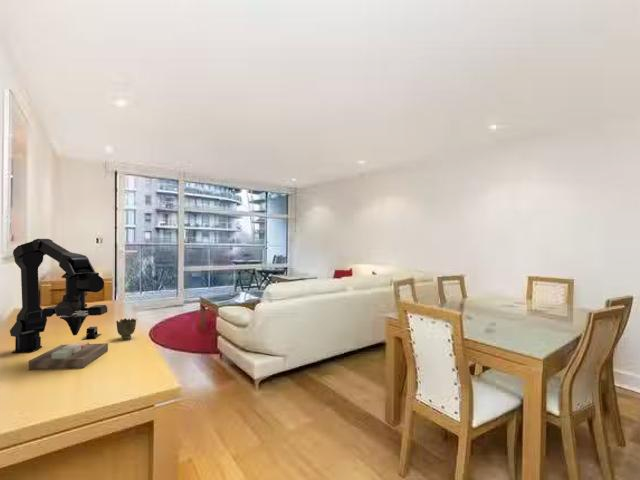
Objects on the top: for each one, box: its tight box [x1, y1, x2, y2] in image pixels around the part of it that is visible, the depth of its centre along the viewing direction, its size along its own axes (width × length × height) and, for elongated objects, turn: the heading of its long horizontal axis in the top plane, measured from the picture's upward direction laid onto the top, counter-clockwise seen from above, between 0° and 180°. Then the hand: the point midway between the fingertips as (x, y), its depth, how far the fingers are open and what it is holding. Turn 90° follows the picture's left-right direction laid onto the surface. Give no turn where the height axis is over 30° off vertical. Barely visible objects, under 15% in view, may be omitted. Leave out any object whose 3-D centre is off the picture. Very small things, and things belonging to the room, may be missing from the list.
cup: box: [115, 318, 137, 341], centre depth 143 cm, size 8×7×8 cm
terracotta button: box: [75, 341, 90, 348], centre depth 123 cm, size 4×4×3 cm
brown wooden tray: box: [28, 342, 109, 371], centre depth 117 cm, size 16×17×3 cm
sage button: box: [51, 349, 72, 359], centre depth 112 cm, size 4×4×3 cm
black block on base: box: [81, 325, 102, 341], centre depth 146 cm, size 12×7×5 cm, turn 17°
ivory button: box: [62, 343, 81, 353], centre depth 117 cm, size 4×4×3 cm
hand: (75, 335), depth 119 cm, fingers closed
